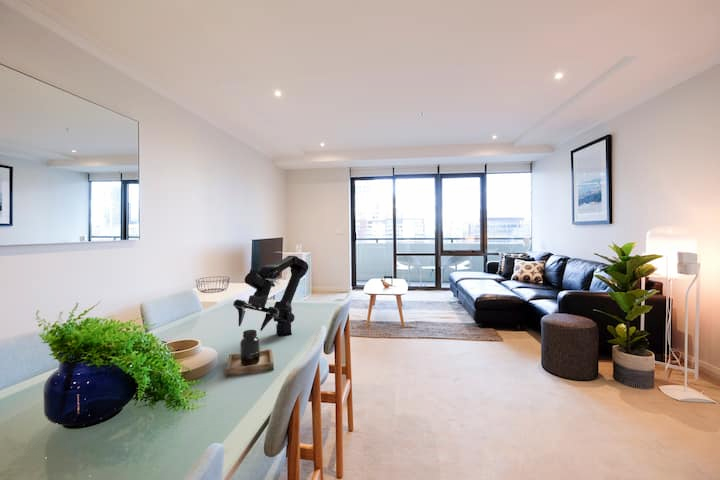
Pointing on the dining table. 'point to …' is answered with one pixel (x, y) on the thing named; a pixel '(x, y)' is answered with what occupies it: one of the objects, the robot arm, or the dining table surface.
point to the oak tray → (237, 368)
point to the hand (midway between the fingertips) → (250, 328)
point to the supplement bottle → (250, 348)
